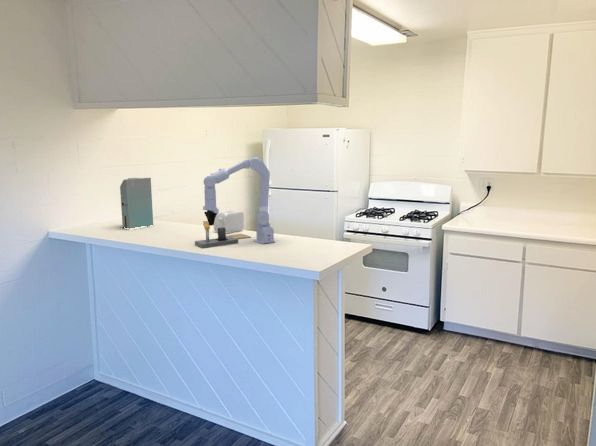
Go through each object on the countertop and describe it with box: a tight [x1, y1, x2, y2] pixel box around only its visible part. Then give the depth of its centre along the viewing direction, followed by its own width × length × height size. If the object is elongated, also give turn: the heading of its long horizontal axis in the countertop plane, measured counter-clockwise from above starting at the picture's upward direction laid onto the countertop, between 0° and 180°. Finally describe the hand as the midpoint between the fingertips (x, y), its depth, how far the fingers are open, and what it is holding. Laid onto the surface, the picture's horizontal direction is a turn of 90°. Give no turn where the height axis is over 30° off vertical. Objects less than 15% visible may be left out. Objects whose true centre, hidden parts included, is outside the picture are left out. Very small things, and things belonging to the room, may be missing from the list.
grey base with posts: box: [194, 229, 239, 249], centre depth 250 cm, size 9×20×8 cm, turn 125°
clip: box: [202, 220, 211, 230], centre depth 252 cm, size 13×3×2 cm, turn 15°
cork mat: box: [226, 233, 252, 240], centre depth 268 cm, size 11×11×1 cm
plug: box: [217, 228, 227, 241], centre depth 252 cm, size 4×4×8 cm
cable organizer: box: [213, 209, 245, 234], centre depth 284 cm, size 15×11×12 cm
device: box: [119, 177, 154, 229], centre depth 296 cm, size 16×8×30 cm, turn 141°
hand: (211, 225), depth 254 cm, fingers closed
